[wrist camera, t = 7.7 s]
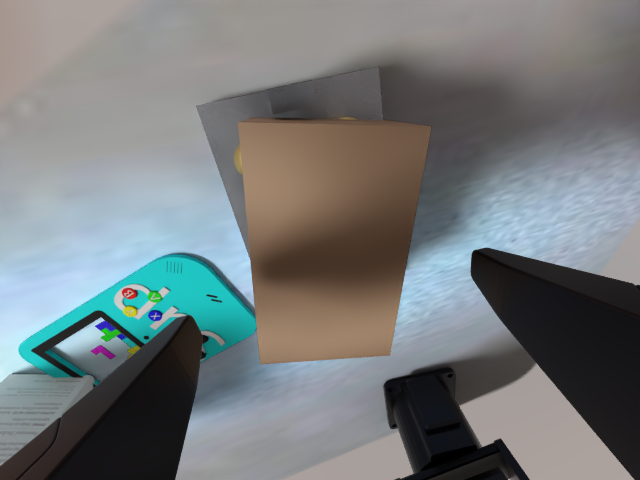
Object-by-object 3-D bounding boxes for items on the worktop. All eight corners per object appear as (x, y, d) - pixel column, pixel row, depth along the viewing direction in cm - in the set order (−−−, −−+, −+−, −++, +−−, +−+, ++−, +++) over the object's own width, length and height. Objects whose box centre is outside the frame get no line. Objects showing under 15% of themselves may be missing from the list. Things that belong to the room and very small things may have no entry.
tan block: (367, 301, 17) (389, 355, 13) (265, 306, 16) (260, 364, 13) (390, 120, 13) (431, 126, 9) (252, 117, 12) (237, 122, 8)
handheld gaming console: (263, 331, 21) (107, 414, 23) (264, 321, 22) (114, 402, 24) (182, 245, 17) (7, 352, 19) (187, 238, 18) (20, 341, 20)
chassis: (391, 274, 20) (425, 329, 15) (269, 301, 20) (264, 366, 15) (371, 69, 15) (416, 50, 10) (202, 105, 15) (158, 106, 10)
